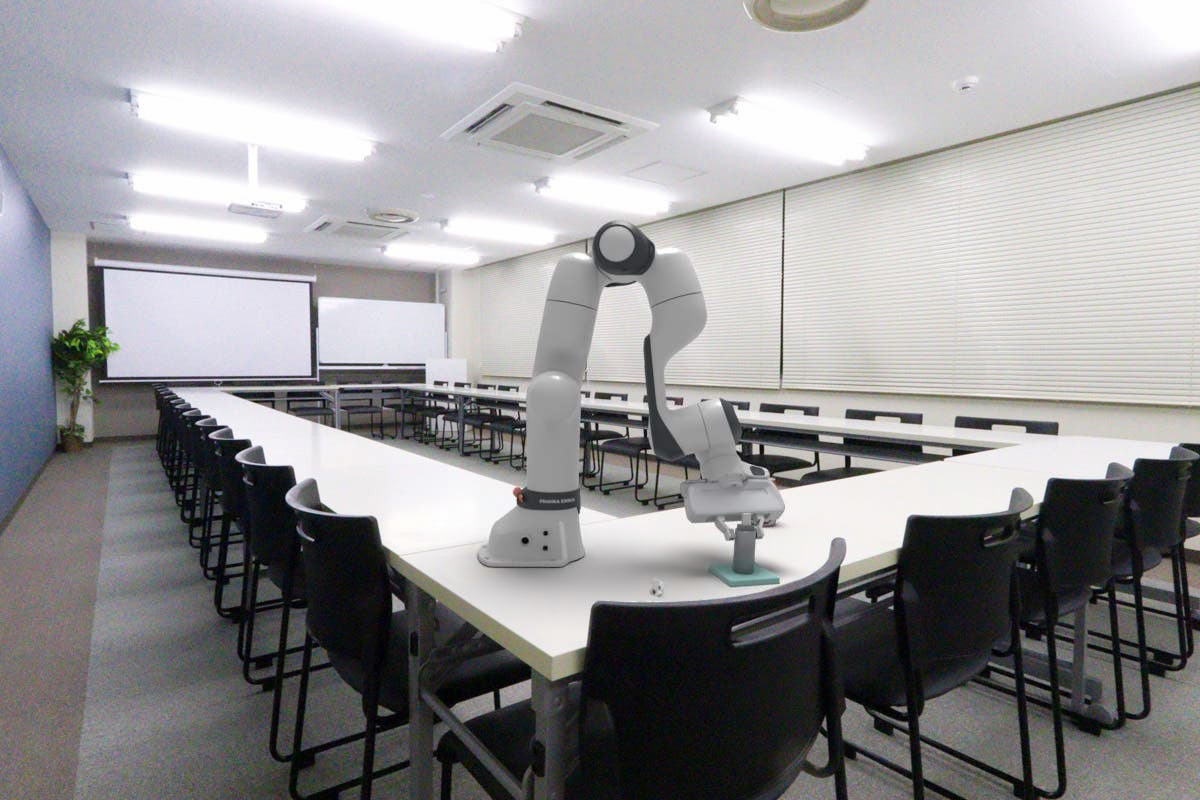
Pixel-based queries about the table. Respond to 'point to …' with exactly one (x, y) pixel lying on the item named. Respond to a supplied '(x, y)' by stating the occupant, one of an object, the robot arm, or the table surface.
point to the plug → (744, 546)
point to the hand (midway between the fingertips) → (745, 538)
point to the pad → (743, 575)
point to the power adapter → (657, 587)
